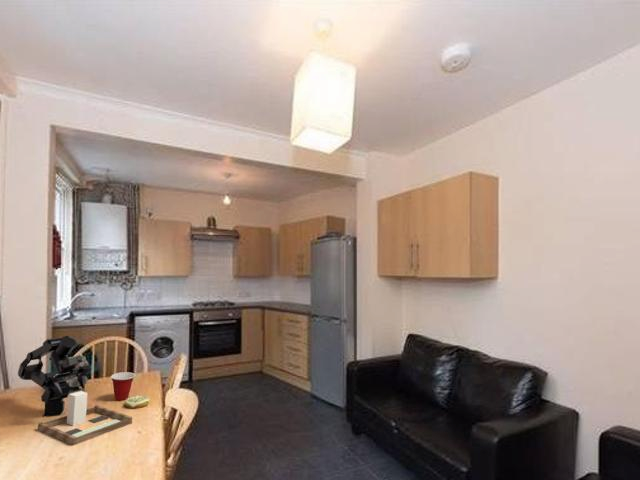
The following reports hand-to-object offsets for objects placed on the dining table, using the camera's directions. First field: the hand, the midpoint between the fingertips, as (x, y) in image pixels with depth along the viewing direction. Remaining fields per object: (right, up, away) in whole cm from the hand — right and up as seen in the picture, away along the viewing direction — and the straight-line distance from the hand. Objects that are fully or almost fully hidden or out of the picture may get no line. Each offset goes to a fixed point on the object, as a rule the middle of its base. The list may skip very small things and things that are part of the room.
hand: (72, 391), depth 160 cm
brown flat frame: (+10, -12, -7) cm, 17 cm away
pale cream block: (+3, -12, -3) cm, 13 cm away
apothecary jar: (-23, -15, +34) cm, 44 cm away
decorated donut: (+19, -15, +18) cm, 30 cm away
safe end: (+16, -12, -10) cm, 22 cm away
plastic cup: (+8, -15, +25) cm, 30 cm away
